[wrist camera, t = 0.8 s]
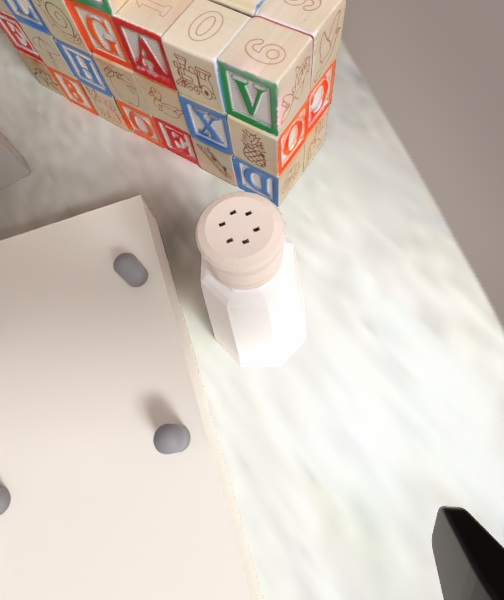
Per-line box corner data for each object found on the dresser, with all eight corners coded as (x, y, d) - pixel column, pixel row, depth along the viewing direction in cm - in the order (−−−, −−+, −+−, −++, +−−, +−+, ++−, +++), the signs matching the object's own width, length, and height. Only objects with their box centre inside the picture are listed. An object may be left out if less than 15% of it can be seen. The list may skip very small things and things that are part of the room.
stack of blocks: (328, 139, 26) (364, -95, 15) (279, 211, 25) (273, 14, 13) (91, 32, 31) (-24, -206, 20) (38, 86, 30) (-119, -136, 18)
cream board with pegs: (270, 624, 18) (266, 686, 13) (36, 710, 17) (-47, 802, 13) (156, 221, 25) (129, 177, 21) (-11, 277, 25) (-74, 243, 20)
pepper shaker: (325, 347, 22) (362, 267, 11) (234, 386, 21) (185, 341, 11) (285, 264, 23) (284, 129, 13) (200, 300, 23) (130, 190, 13)
